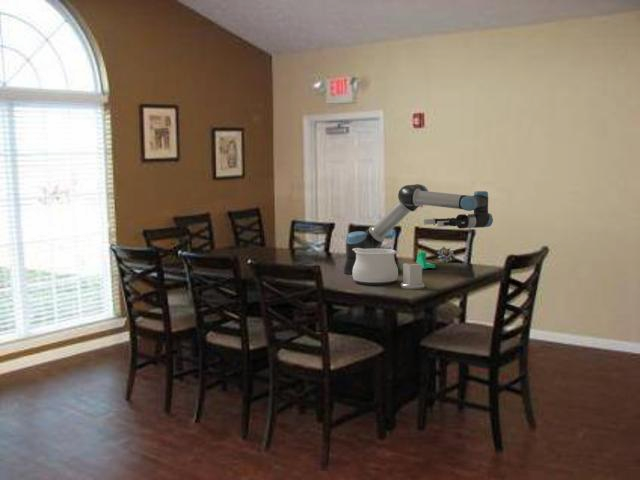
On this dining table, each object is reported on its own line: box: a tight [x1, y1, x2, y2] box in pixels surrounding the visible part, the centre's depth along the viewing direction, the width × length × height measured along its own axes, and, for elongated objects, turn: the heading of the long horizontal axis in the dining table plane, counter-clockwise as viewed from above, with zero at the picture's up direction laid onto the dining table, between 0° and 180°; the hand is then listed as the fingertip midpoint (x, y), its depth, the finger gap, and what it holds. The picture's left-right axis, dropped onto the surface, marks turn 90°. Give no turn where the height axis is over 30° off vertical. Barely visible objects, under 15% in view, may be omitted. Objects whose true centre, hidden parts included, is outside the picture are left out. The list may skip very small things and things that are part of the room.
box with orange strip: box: [402, 261, 423, 285], centre depth 367 cm, size 7×7×11 cm
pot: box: [351, 248, 400, 286], centre depth 384 cm, size 28×24×17 cm
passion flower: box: [436, 246, 456, 264], centre depth 459 cm, size 11×11×12 cm
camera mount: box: [415, 251, 436, 270], centre depth 432 cm, size 12×8×10 cm, turn 15°
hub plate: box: [400, 281, 425, 290], centre depth 368 cm, size 12×12×8 cm
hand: (430, 223), depth 374 cm, fingers open, 13 cm apart
